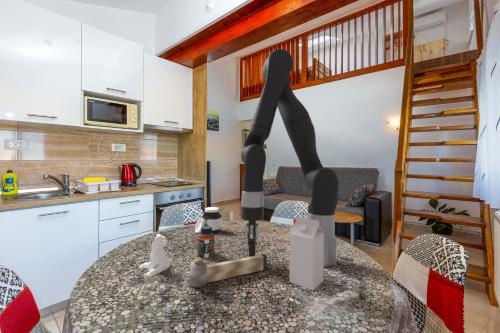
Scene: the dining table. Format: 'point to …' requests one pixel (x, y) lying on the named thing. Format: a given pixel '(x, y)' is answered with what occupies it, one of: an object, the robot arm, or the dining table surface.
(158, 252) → the white creature statuette
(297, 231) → the milk carton
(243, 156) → the robot arm
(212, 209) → the spread jar
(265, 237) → the dining table surface
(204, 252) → the supplement bottle
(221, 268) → the dial lever
